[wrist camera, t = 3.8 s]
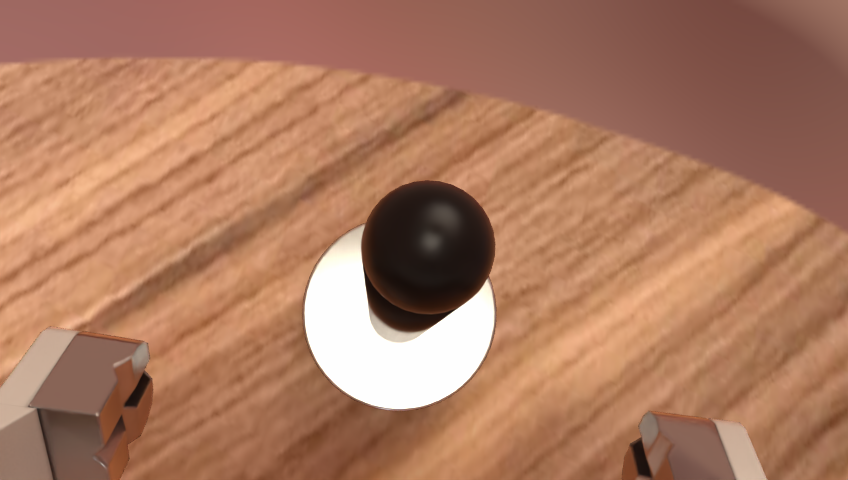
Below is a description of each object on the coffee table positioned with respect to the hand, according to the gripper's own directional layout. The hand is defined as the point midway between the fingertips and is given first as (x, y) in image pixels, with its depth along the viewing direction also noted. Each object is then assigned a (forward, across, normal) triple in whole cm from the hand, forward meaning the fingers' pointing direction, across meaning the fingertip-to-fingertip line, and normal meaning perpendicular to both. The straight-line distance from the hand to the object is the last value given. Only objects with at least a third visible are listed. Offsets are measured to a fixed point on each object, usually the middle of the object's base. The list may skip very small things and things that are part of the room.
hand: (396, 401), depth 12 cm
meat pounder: (+9, 0, +6) cm, 11 cm away
